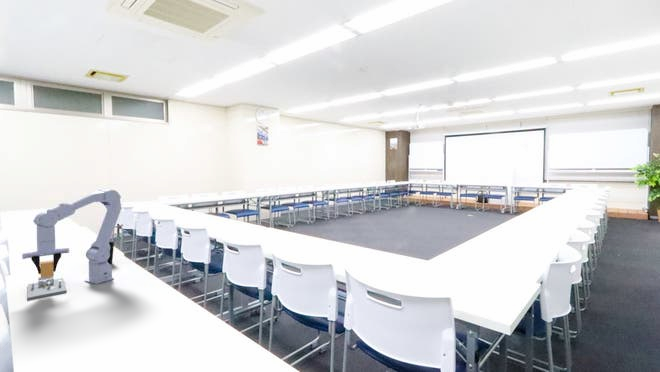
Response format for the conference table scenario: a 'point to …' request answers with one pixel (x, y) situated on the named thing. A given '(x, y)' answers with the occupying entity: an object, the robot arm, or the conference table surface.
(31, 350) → the conference table surface
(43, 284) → the clips
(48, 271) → the block
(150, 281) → the conference table surface
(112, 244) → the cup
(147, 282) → the conference table surface
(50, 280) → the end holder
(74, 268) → the conference table surface
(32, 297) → the board
